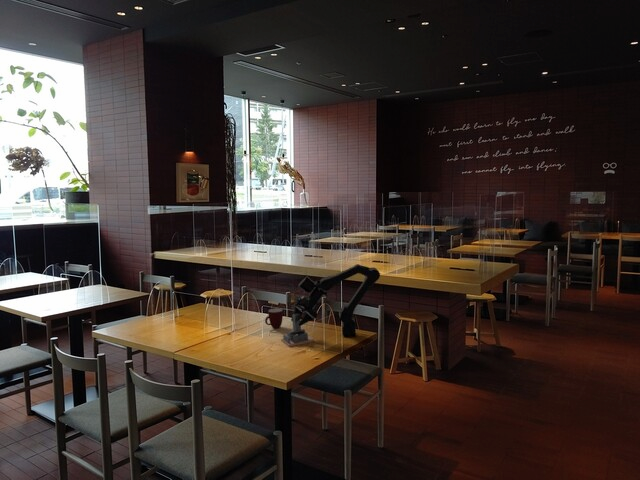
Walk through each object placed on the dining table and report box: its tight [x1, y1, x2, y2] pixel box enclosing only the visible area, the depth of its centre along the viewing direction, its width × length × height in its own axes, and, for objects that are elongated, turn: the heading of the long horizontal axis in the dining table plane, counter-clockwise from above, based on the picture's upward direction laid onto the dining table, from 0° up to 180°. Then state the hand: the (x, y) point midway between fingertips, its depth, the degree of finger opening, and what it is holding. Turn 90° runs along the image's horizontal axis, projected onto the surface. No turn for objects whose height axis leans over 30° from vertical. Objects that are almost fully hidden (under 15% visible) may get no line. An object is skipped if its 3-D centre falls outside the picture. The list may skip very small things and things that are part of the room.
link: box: [286, 313, 309, 343], centre depth 244 cm, size 8×8×13 cm
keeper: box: [280, 333, 315, 348], centre depth 245 cm, size 14×10×4 cm
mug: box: [264, 307, 284, 330], centre depth 267 cm, size 11×8×10 cm
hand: (295, 323), depth 244 cm, fingers open, 9 cm apart
